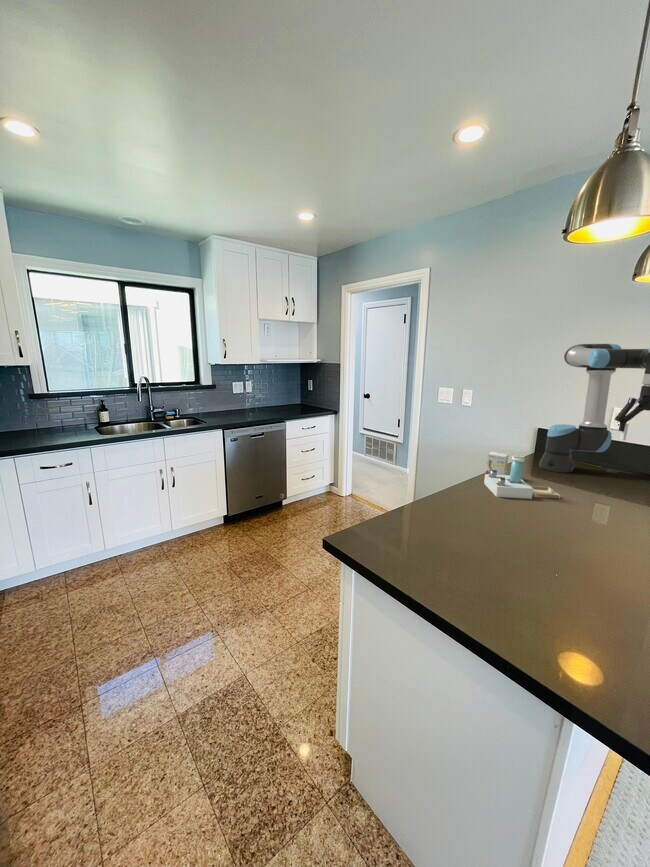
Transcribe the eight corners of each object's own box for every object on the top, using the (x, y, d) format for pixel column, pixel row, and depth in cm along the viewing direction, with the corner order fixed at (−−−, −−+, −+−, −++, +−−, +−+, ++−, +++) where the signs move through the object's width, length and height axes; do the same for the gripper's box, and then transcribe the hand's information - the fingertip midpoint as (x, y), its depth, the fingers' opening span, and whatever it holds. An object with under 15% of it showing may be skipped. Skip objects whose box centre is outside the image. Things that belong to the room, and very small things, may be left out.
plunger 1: (488, 480, 160) (489, 469, 159) (494, 480, 159) (495, 469, 158) (490, 482, 157) (491, 471, 156) (496, 482, 157) (497, 471, 156)
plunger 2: (496, 488, 150) (497, 476, 149) (502, 488, 150) (504, 477, 149) (498, 490, 148) (499, 478, 146) (504, 491, 147) (506, 479, 146)
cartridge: (505, 488, 156) (510, 454, 152) (517, 489, 155) (522, 454, 152) (510, 492, 151) (514, 457, 148) (521, 493, 150) (526, 457, 147)
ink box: (484, 476, 174) (487, 453, 171) (487, 473, 177) (490, 451, 175) (503, 480, 168) (506, 456, 166) (505, 477, 172) (508, 454, 169)
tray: (524, 489, 156) (524, 485, 156) (548, 490, 155) (548, 486, 155) (534, 498, 147) (535, 494, 146) (560, 499, 145) (560, 495, 145)
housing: (483, 484, 162) (485, 474, 161) (515, 486, 160) (517, 475, 159) (496, 498, 147) (497, 486, 145) (531, 499, 145) (533, 488, 144)
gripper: (620, 385, 130) (609, 440, 135) (704, 387, 123) (690, 445, 128) (610, 383, 137) (600, 436, 142) (690, 385, 130) (676, 441, 135)
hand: (643, 441), depth 135 cm, fingers open, 13 cm apart
